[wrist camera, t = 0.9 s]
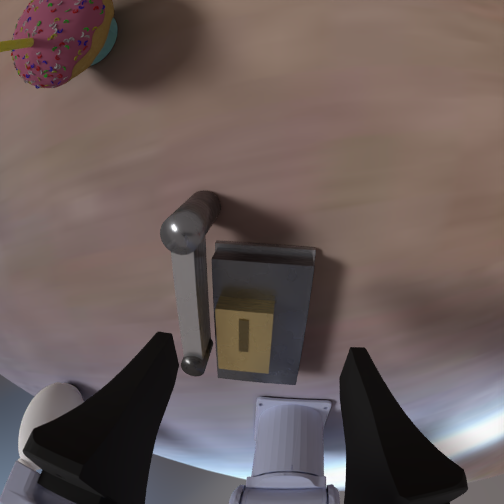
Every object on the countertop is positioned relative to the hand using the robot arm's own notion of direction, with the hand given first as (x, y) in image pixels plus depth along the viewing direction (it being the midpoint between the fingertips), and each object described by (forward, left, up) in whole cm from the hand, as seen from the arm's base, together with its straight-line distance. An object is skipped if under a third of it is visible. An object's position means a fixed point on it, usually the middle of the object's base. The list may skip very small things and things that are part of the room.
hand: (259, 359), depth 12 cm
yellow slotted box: (-7, +2, -10) cm, 12 cm away
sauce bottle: (-25, +27, -13) cm, 38 cm away
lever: (-3, +5, -12) cm, 13 cm away
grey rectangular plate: (-7, +1, -12) cm, 14 cm away
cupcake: (+16, +15, -13) cm, 25 cm away
